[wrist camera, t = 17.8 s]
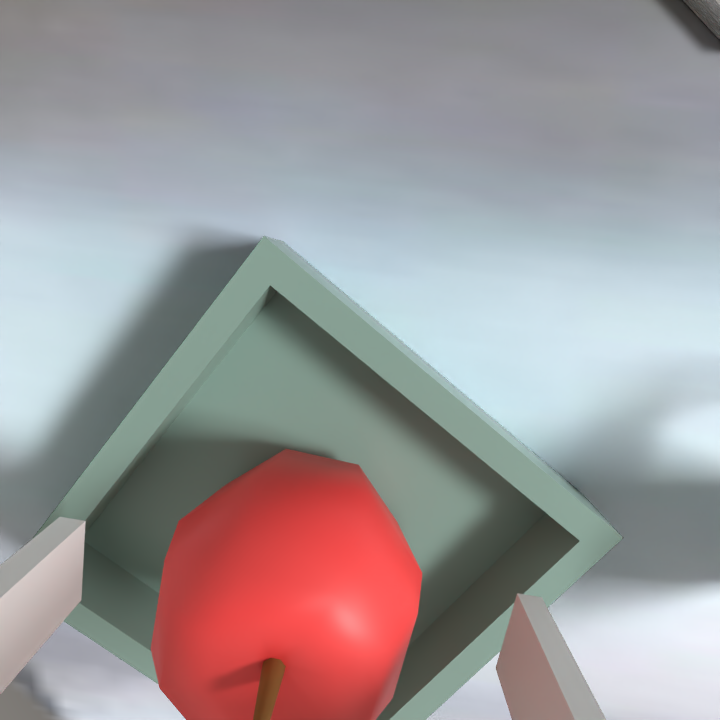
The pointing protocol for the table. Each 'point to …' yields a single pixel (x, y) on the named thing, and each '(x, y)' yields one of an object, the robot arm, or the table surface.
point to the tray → (336, 441)
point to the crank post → (707, 13)
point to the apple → (286, 597)
